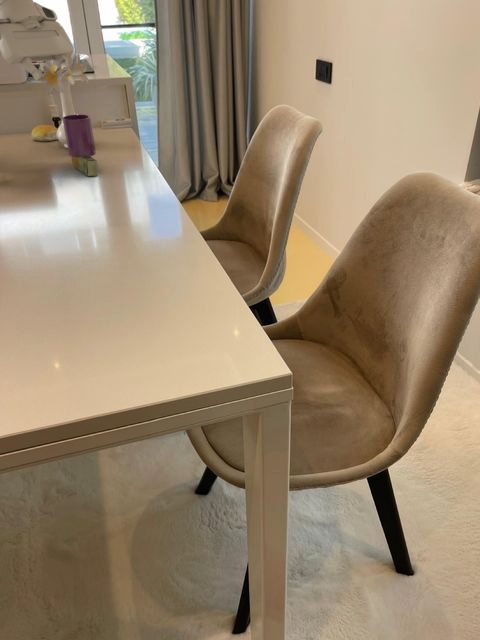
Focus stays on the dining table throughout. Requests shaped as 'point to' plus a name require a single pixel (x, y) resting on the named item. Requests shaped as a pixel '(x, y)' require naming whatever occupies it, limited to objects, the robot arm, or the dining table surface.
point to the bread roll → (44, 133)
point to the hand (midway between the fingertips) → (54, 77)
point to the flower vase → (63, 86)
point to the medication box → (85, 165)
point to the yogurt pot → (79, 135)
